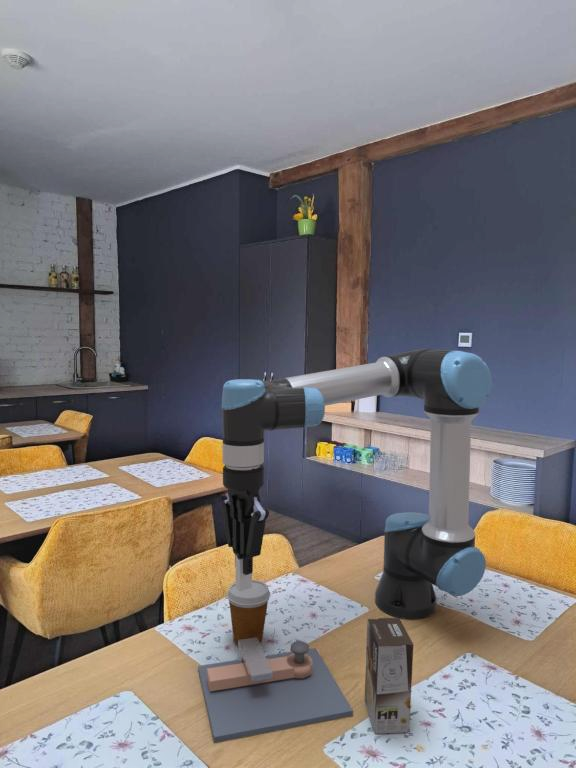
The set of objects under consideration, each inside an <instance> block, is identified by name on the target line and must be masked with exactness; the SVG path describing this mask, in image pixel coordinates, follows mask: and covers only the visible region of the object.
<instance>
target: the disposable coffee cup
mask: <svg viewBox="0 0 576 768" xmlns="http://www.w3.org/2000/svg"><path fill="white" fill-rule="evenodd" d="M271 595H272V594H271V591H270V589H269V586H268V585H267V584H266V583H265V582H264V581H261V580H257V579H252V588H250V589H247V590H244V591H241V592H239V591H238V590H237V589H236V581H234V582H233V583H232V584H230V586H229V589H228V591H227V592H226V598H227V599H228V602H229V610H230V618H231V619H230V621H231V627H232V628H231V629H232V636H233V637H232V638H233V643H234V645H236V646H237V647H239V646H238V640H241V639H248V638H255V637H258V640H259V642H260V644H261V645H262V642H263V636H264V630H265V623H266V617H267V610H268V604H269V603H268V602H269V600H270V597H271Z"/></svg>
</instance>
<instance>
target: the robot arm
mask: <svg viewBox="0 0 576 768" xmlns="http://www.w3.org/2000/svg"><path fill="white" fill-rule="evenodd" d="M492 386H493V380H492V374H491V370H490V368H489V366H488V365H487V363H486V362H485V361H484V360H483V359H482V357H480V356H479V355H477V354H475V353H471V352H466V351H463V350H445V349H430V348H421V349H415V350H411V351H410V350H409V351H406V352H405V351H404V352H400V353H395V354H391V355H387V356H382V357H379V358H378V359H377V360H376V361H375V362H371V363H365V364H360V365H354V366H348V367H341V368H336V369H330V370H325V371H318V372H312V373H306V374H301V375H300V374H299V375H295V376H289V377H284V378H277V379H271V380H264V379H251V378H247V379H246V378H245V379H243V378H241V379H240V378H239V379H231V380H227V381H226V382H224V384H223V387H222V396H221V411H222V412H221V415H222V416H221V417H222V418H221V419H222V423H221V424H222V455H221V456H222V459H221V460H222V464H223V465H224V466H223V467H222V485H223V487H224V488H225V489H227V493H224V494H220V496H219V497H220V498H219V500H220V502H221V506H222V509H223V510H222V511H223V518H224V526H225V534H226V541H227V546H228V548H232V552H233V554H234V567H235V582H236V589H237V590H238V591H239V592H241V591H244V590H247V589H250V588H252V580H253V571H254V568H253V567H254V566H253V565H254V564H253V561H254V558H256V557H258V556H260V555H261V553H262V546H263V541H264V540H263V539H264V532H265V527H266V521H267V519H268V518H269V515H270V511H269V509H268V508H265V509H263V506H262V505H261V497H260V490H261V488H262V487H263V486H264V484H265V466H264V465H263V463H264V462H265V461H264V460H265V456H264V455H265V453H264V452H265V450H264V449H265V447H264V443H265V432H267V431H268V432H269V431H276V430H279V431H280V430H290V429H306V428H310V427H311V428H312V427H317V426H319V425H320V424H321V423H322V421H323V420H324V417H325V413H326V411H325V410H326V408H325V407H326V406H332V405H336V404H340V403H346V402H352V401H356V400H361V399H367V398H371V397H376V396H383V397H384V398H392V397H393V398H394V397H412V398H417V399H421V400H423V412H424V413H425V415H427V417H429V419H430V440H429V441H430V442H429V443H430V445H429V446H430V447H429V450H430V451H429V496H428V499H429V500H428V514H426V513H422V512H413V511H412V512H411V511H410V512H407V511H406V512H395V513H394V514H391V515H388V517H387V518H386V520H385V525H384V526H385V527H384V529H383V530H384V531H383V532H384V539H383V540H384V542H383V543H384V544H383V547H384V548H383V570H382V574H381V576H380V579H379V581H378V584H377V587H376V589H375V594H374V596H375V597H374V602H375V604H376V606H377V608H378V609H380V610H381V611H383V612H384V613H386V614H388V615H389V616H392V617H395V618H399V619H400V618H401V619H406V620H408V619H409V620H417V619H419V620H420V619H425V618H428V617H430V616H432V615H433V614H434V613H435V612H436V611H437V595H436V592H435V588H434V586H436V587H437V589H438V590H440V591H442V592H445V593H447V594H449V595H450V596H454V597H460V596H464V595H466V594H469V593H470V592H472V591H473V590H474V589H475V588H476V587H477V586H478V584H480V582H481V581H482V579H483V577H484V574H485V571H486V567H487V566H486V565H487V560H486V557H485V553H483V551H481V550H480V548H478V547H476V532H475V530H474V529H473V528H472V527H471V526H470V525H469V516H470V514H469V510H470V509H469V507H470V506H469V505H470V482H471V481H470V476H471V474H470V473H471V470H470V469H471V447H472V446H471V445H472V444H471V442H472V441H471V438H472V437H471V436H472V421H473V420H474V419H475V418H476V417H477V416H478V415H479V413H480V407H482V406H483V405H484V404H485V403H486V402H487V401H488V398H487V397H490V395H491V392H492ZM433 585H434V586H433Z"/></svg>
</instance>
